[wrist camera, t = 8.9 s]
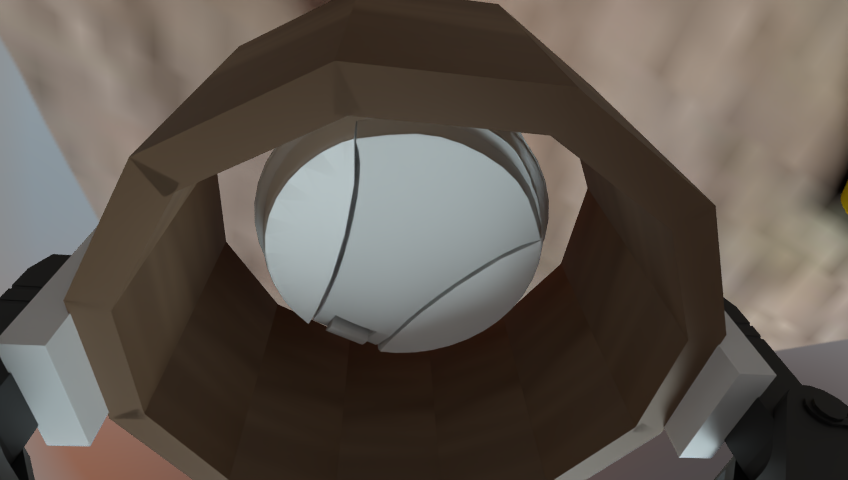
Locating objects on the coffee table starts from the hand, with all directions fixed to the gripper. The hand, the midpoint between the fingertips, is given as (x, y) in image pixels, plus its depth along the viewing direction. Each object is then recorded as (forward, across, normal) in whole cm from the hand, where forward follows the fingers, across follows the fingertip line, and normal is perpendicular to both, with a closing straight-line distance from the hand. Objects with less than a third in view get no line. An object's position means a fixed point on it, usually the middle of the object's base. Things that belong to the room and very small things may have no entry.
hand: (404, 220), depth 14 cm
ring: (0, 0, 0) cm, 0 cm away
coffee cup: (+13, 0, 0) cm, 13 cm away
